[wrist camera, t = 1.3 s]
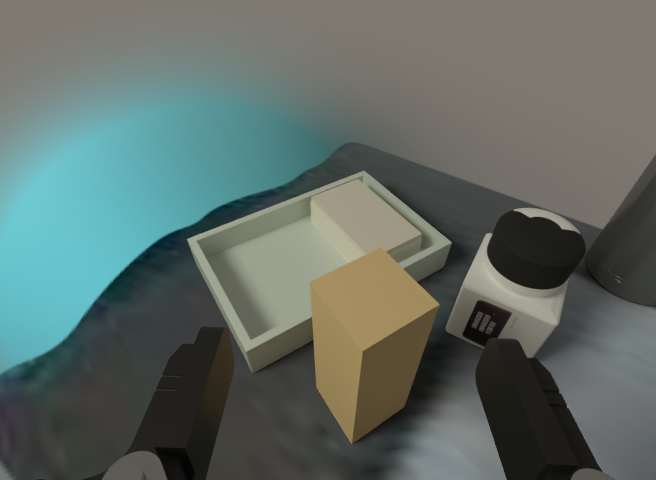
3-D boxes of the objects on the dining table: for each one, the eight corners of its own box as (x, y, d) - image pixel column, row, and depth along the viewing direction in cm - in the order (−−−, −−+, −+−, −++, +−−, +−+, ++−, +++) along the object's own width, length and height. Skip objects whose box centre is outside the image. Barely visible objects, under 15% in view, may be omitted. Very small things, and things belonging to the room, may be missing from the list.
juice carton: (366, 357, 36) (381, 247, 25) (404, 407, 33) (439, 304, 22) (316, 387, 34) (309, 281, 23) (351, 444, 31) (362, 351, 20)
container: (524, 370, 35) (593, 281, 26) (443, 332, 38) (479, 239, 29) (540, 310, 39) (604, 217, 30) (467, 280, 42) (505, 186, 33)
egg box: (356, 202, 51) (358, 178, 48) (417, 258, 43) (423, 233, 40) (311, 221, 48) (310, 196, 45) (368, 284, 41) (370, 260, 38)
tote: (362, 194, 53) (364, 170, 51) (444, 267, 44) (451, 242, 41) (196, 263, 44) (187, 239, 42) (252, 373, 35) (246, 351, 32)
